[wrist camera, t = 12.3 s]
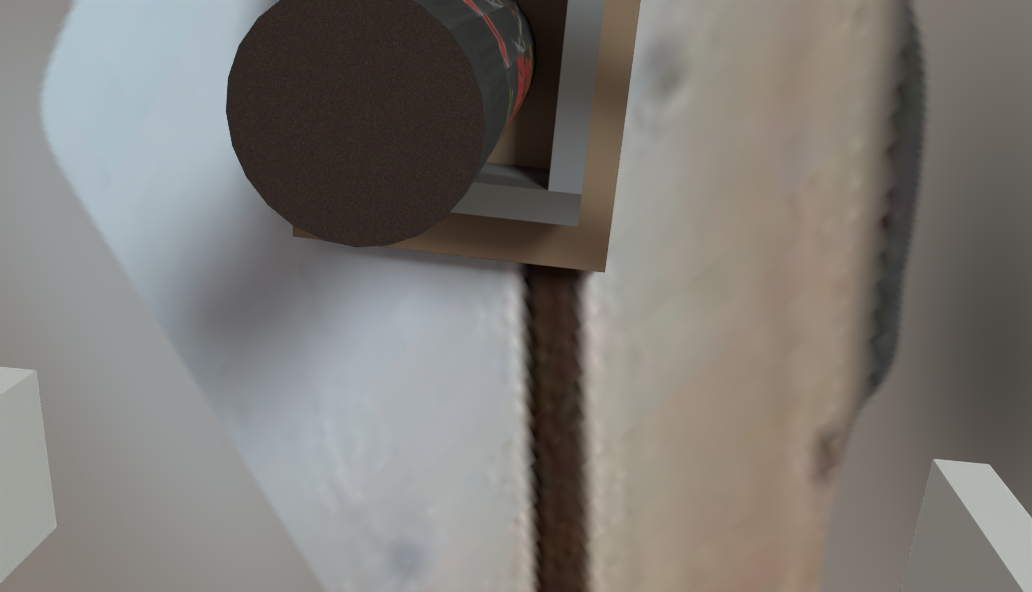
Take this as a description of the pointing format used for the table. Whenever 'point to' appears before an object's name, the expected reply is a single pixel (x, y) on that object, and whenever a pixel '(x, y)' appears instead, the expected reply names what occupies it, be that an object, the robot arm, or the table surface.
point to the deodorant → (375, 109)
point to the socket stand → (552, 148)
